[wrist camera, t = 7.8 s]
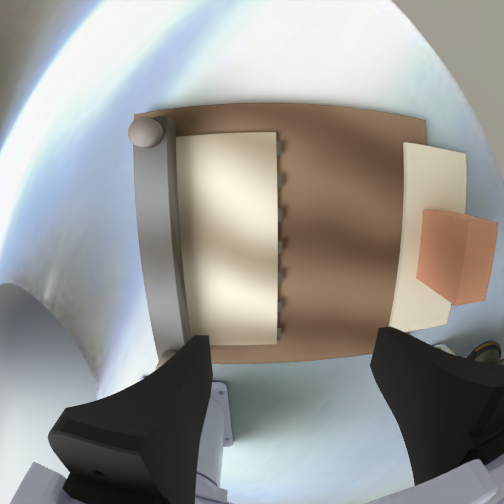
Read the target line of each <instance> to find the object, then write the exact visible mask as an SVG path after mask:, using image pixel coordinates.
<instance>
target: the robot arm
mask: <svg viewBox="0 0 504 504" xmlns="http://www.w3.org/2000/svg"><path fill="white" fill-rule="evenodd" d="M370 367H371V369H372V372H373V375H374V378H375V381H376V383H377V385H378V387H379V389H380V391H381V393H382V394H383V396H384V398H385V400H386V402H387V403H388V405H389V407H390V409H391V411H392V413H393V414H394V416H395V418H396V420H397V423H398V425H399V427H400V430H401V433H402V436H403V438H404V441H405V444H406V448H407V451H408V455H409V458H410V463H411V467H412V471H413V477H414V483H415V486H414V487H411V488H409V489H406V490H403V491H400V492H397V493H394V494H391V495H388V496H385V497H382V498H380V499H377V500H374V501H372V502H369V503H366V504H504V365H499V364H490V363H483V362H478V361H474V360H470V359H466V358H463V357H459V356H456V355H453V354H450V353H448V352H445V351H443V350H441V349H438V348H436V347H434V346H431V345H429V344H427V343H425V342H423V341H421V340H419V339H417V338H415V337H413V336H411V335H409V334H407V333H405V332H403V331H401V330H398V329H396V328H394V327H391V326H390V327H382V328H379V329H378V334H377V338H376V343H375V347H374V352H373V356H372V360H371V364H370ZM212 378H213V371H212V362H211V351H210V340H209V335H194V336H193V337H192V338H191V339H189V340H188V341H187V342H186V343H185V344H184V346H183V347H181V348H180V349H179V350H178V351H177V352H176V353H175V354H174V355H173V356H172V357H171V358H170V359H169V360H168V361H167V362H165V363H164V364H163V365H162V366H160V367H159V368H158V369H157V370H155V371H154V372H153V373H151V374H150V375H148V376H147V377H145V378H140V380H139V382H137V383H136V384H134V385H132V386H130V387H128V388H126V389H124V390H122V391H120V392H118V393H115V394H113V395H111V396H108V397H105V398H103V399H100V400H97V401H93V402H90V403H86V404H82V405H78V406H73V407H68V408H66V409H65V410H64V411H63V413H62V414H61V416H60V417H59V419H58V420H57V422H56V423H55V425H54V426H53V428H52V429H51V431H50V432H49V435H48V440H49V443H50V446H51V447H52V449H53V451H54V452H55V454H56V455H57V456H58V457H59V459H60V460H61V462H62V463H63V464H64V465H65V467H66V468H67V469H68V470H69V472H70V474H69V476H68V478H67V479H66V478H65V477H63V476H62V475H60V474H59V473H57V472H55V471H53V470H50V469H48V468H46V467H44V466H42V465H40V464H38V463H36V462H33V464H32V466H31V467H30V469H29V471H28V472H27V474H26V476H25V477H24V479H23V481H22V483H21V484H20V486H19V488H18V490H17V492H16V493H15V495H14V497H13V499H12V501H11V503H10V504H233V503H231V502H227V490H224V489H221V488H219V487H220V478H221V466H222V454H223V447H231V446H232V445H233V437H232V429H231V420H230V412H229V402H228V393H227V386H226V384H225V383H222V382H212ZM219 391H223V392H219Z"/></svg>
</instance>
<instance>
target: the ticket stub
mask: <svg viewBox="0 0 504 504" xmlns="http://www.w3.org/2000/svg"><path fill="white" fill-rule="evenodd" d="M403 152H404V197H403V219H402V234H401V245H400V255H399V264H398V272H397V280H396V287H395V293H394V299H393V305H392V311H391V316H390V322H389V327H390V326H391V327H394V328H396V329H398V330H401V331H403V332H408V331H414V330H420V329H425V328H431V327H436V326H441V325H446V324H447V320H448V316H449V312H450V308H451V304H453V305H455V306H457V305H462V304H468V303H473V302H478V301H483V300H485V297H486V293H487V288H488V284H489V279H490V274H491V269H492V263H493V257H494V251H495V244H496V236H497V227H498V223H496V222H493V221H489V220H485V219H482V218H478V217H474V216H470V215H466V214H465V209H466V182H467V167H466V154H464V153H460V152H455V151H451V150H446V149H441V148H436V147H431V146H426V145H420V144H414V143H408V142H404V143H403Z"/></svg>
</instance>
